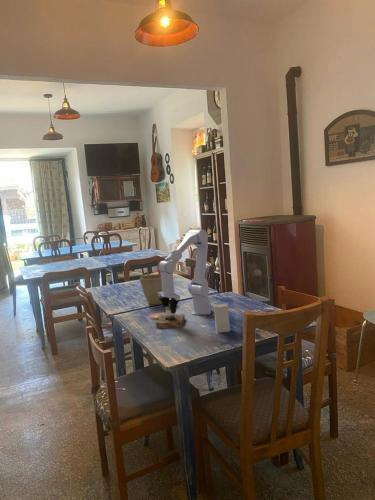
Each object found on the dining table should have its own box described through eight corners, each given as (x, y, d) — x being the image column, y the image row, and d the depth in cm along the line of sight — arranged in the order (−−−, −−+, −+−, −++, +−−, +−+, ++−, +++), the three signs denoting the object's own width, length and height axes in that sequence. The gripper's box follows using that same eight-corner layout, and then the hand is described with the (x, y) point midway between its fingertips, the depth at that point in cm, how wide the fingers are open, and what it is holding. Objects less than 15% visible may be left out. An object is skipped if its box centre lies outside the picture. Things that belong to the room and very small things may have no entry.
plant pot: (171, 302, 224) (169, 276, 222) (148, 307, 217) (145, 280, 215) (160, 297, 237) (158, 272, 235) (138, 302, 230) (135, 276, 228)
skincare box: (228, 328, 174) (226, 303, 172) (230, 332, 170) (228, 305, 168) (215, 330, 174) (213, 304, 172) (216, 333, 169) (215, 307, 168)
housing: (184, 319, 192) (184, 314, 192) (181, 327, 180) (180, 322, 180) (161, 319, 194) (161, 315, 194) (156, 327, 182) (156, 322, 182)
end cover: (176, 317, 189) (175, 304, 188) (174, 321, 184) (173, 307, 183) (166, 318, 190) (165, 304, 189) (164, 321, 185) (163, 307, 184)
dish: (168, 313, 203) (167, 312, 203) (164, 319, 194) (164, 318, 194) (151, 314, 204) (151, 313, 204) (147, 319, 196) (147, 318, 195)
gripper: (152, 285, 187) (154, 311, 189) (171, 288, 177) (173, 316, 178) (163, 282, 192) (165, 307, 194) (182, 285, 181) (184, 313, 183)
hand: (170, 312), depth 186 cm, fingers closed on end cover, 5 cm apart
